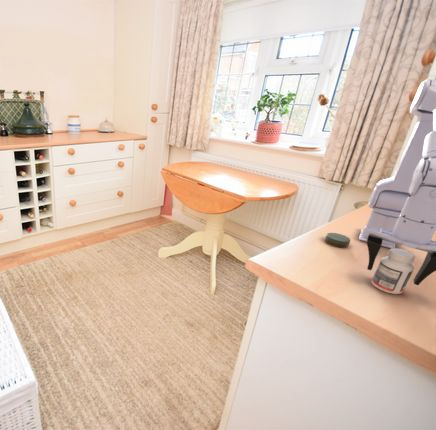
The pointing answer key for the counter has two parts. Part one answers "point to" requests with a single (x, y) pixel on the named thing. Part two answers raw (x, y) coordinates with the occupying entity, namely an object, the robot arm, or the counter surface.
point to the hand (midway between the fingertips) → (391, 275)
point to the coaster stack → (337, 240)
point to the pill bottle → (394, 271)
